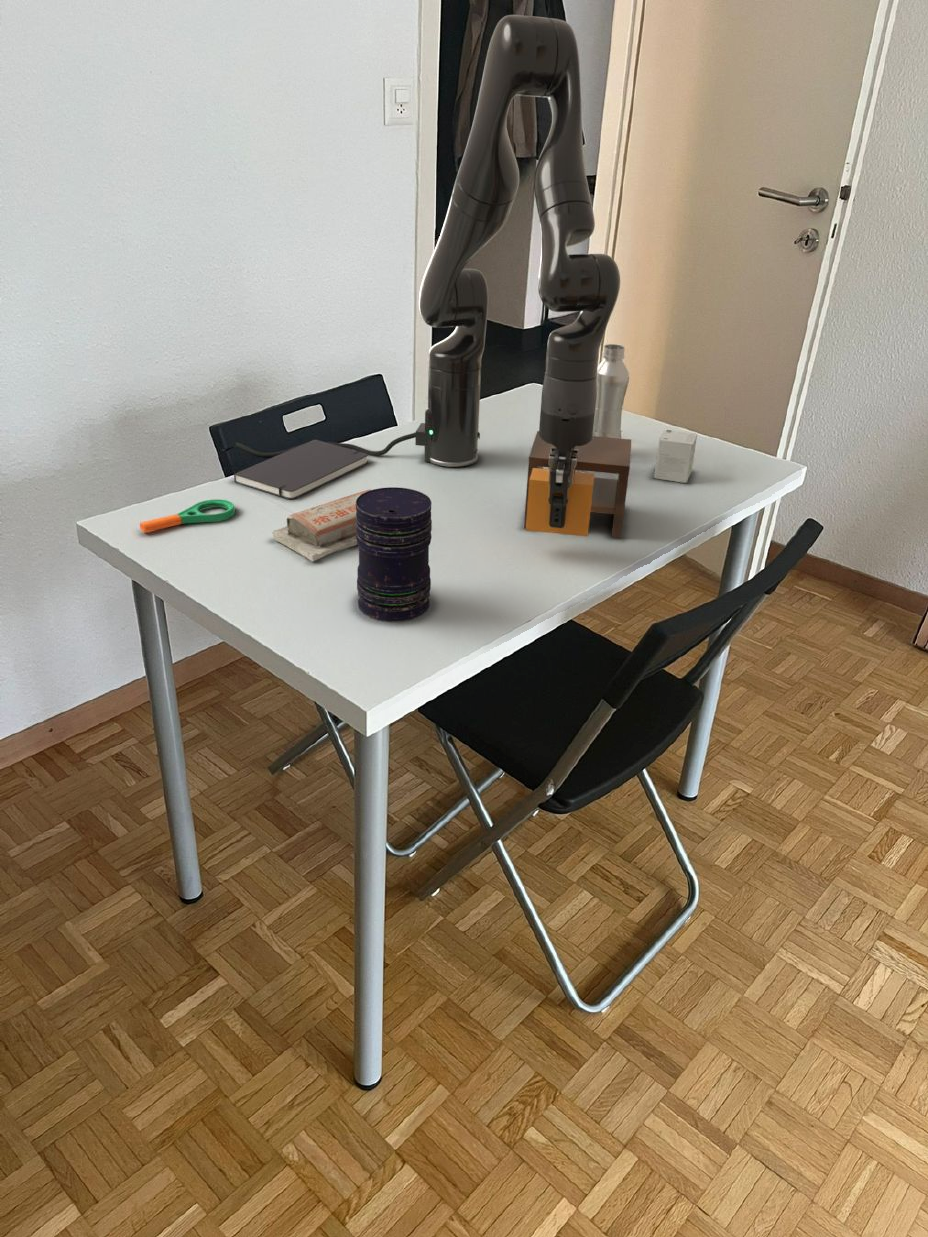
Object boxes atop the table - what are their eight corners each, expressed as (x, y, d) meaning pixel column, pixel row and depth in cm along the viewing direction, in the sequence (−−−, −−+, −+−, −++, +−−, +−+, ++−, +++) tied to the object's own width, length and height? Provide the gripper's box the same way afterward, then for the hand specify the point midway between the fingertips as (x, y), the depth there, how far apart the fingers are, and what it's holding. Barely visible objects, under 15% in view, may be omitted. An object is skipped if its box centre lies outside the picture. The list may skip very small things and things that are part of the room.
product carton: (687, 483, 172) (693, 444, 169) (653, 478, 174) (658, 439, 170) (691, 472, 177) (698, 433, 174) (658, 467, 179) (663, 428, 175)
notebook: (315, 447, 182) (234, 482, 166) (314, 439, 181) (233, 473, 165) (369, 462, 176) (291, 500, 160) (369, 454, 175) (291, 491, 160)
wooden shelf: (523, 528, 154) (528, 456, 148) (532, 499, 164) (537, 430, 158) (620, 538, 152) (629, 466, 146) (622, 508, 162) (631, 439, 156)
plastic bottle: (594, 444, 188) (606, 340, 178) (626, 452, 185) (639, 346, 175) (578, 453, 184) (588, 346, 173) (609, 462, 180) (622, 354, 170)
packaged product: (363, 481, 156) (405, 500, 150) (364, 509, 158) (405, 529, 152) (269, 511, 145) (310, 533, 139) (271, 540, 147) (312, 563, 141)
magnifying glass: (223, 502, 159) (222, 493, 158) (242, 515, 155) (241, 505, 154) (134, 527, 150) (132, 516, 149) (152, 540, 146) (150, 530, 145)
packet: (525, 530, 143) (529, 479, 139) (529, 517, 147) (532, 467, 143) (587, 536, 142) (592, 485, 138) (589, 523, 145) (594, 473, 141)
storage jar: (362, 584, 136) (360, 485, 129) (432, 587, 136) (434, 488, 129) (352, 621, 128) (350, 516, 120) (427, 624, 128) (429, 520, 120)
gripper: (546, 389, 141) (537, 498, 150) (535, 420, 129) (527, 537, 138) (598, 393, 140) (586, 502, 149) (592, 425, 128) (580, 542, 137)
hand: (558, 518), depth 143 cm, fingers closed on packet, 4 cm apart
